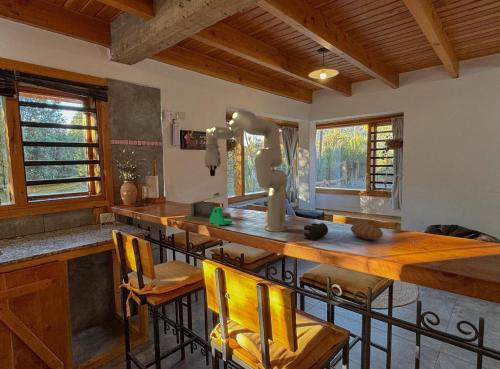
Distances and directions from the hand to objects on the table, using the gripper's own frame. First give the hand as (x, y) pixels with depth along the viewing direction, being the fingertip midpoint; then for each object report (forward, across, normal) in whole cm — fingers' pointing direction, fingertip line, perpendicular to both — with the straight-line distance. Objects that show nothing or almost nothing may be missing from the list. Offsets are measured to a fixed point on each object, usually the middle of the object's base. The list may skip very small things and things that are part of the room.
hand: (212, 175), depth 183 cm
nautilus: (+27, -95, +14) cm, 100 cm away
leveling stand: (+27, +2, +3) cm, 27 cm away
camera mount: (+28, -16, +16) cm, 36 cm away
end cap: (+27, -73, +26) cm, 82 cm away
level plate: (+15, +2, +3) cm, 15 cm away
